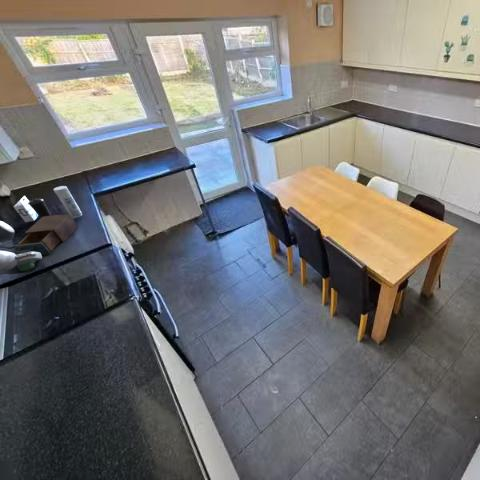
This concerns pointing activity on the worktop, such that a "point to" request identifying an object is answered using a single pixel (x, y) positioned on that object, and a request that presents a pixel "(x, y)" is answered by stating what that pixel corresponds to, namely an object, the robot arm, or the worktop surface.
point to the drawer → (38, 243)
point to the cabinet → (55, 226)
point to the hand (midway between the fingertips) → (24, 262)
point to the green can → (26, 267)
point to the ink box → (25, 210)
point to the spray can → (68, 201)
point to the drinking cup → (39, 207)
